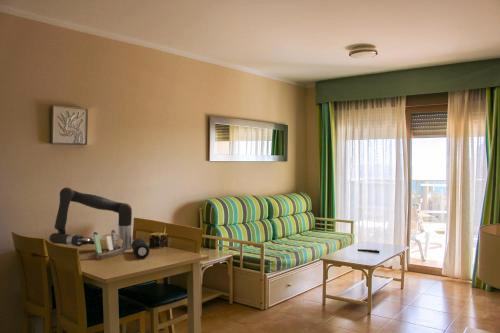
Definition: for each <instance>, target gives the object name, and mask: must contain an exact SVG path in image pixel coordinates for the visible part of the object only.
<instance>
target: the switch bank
mask: <svg viewBox="0 0 500 333" xmlns="http://www.w3.org/2000/svg"><path fill="white" fill-rule="evenodd" d="M124 254H125V249H120V246H118V249H116V247H114V246H113V250H110V251H109V249H107V248H106V249H105V250H102V253H99V254H98V252H96V251H95V252H93V253H90V259H92V260H97V261H98V260H99V261H103V260H105V259H109V258H113V257H116V256H119V255H124Z"/></svg>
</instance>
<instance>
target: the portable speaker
mask: <svg viewBox="0 0 500 333" xmlns="http://www.w3.org/2000/svg"><path fill="white" fill-rule="evenodd" d="M131 249H132V251H133V253H134V255H135V256H136V258H138V259H140V258H141V259H145V258H147V257H148V256H149V255H150V247H149V245H148V244H147V242H146V241H145V240H144V239H142V238H139V237H138V238H136V239H134V240H133V241H131Z"/></svg>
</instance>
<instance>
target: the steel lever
mask: <svg viewBox="0 0 500 333" xmlns="http://www.w3.org/2000/svg"><path fill="white" fill-rule="evenodd" d="M110 232H111V240H112V245H113V247H116V249H118V238H117V237H118V236H117V234H116V231H115V230H114V229H112V230H111V231H110ZM115 240H117V242H116V241H115Z"/></svg>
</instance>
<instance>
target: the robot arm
mask: <svg viewBox="0 0 500 333" xmlns="http://www.w3.org/2000/svg"><path fill="white" fill-rule="evenodd" d="M71 202H73V203H78V204H82V205H84V206H85V207H90V208H93V209H96V210H102V211H108V212H109V211H110V212H114V213H117V214H118V223H117V224H118V225H117V226H118V229H117V230H118V231H117V233H118V235H117V237H118V238H117V240H118V239H122V240H123V243H122V246H121V247H120V249H124V250H129V249H132V247H131V245H132V237H133V236H132V220H133V219H132V218H133V217H132V215H133V214H132V213H133V209H132V207H131V205H130V204H129V203H124V202H118V201H114V200H111V199H109V198H107V197H103V196H99V195H96V194H92V193H82V192H79V191H76V190H74V189H72V188H71V187H64V188H62V189H61V190H60V191H59V204H58V209H57V215H56V218H55V223H54V229H55V230H57V232H53V233H51V234H50V235H49V239H48V240H49V242H51V243H52V244H61V245H68V246H72V247H82V246H85V245H95V244H94V239H93V237H90V238H87V237H84V236H83V235H80V234H69V233H66V225H67V220H68V214H69V207H70V203H71Z"/></svg>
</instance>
